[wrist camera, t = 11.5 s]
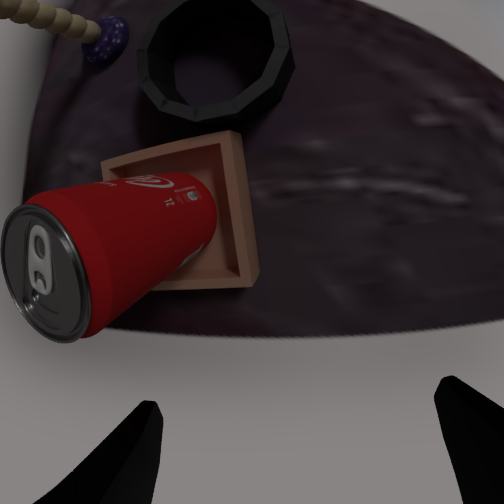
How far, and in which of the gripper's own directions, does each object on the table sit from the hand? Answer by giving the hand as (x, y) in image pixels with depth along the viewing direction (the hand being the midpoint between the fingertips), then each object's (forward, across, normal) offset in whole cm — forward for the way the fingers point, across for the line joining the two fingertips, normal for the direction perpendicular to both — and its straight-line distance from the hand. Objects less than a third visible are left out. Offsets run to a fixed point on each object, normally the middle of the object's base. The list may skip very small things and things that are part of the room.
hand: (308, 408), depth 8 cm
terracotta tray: (+14, +6, -2) cm, 15 cm away
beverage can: (+13, +6, -2) cm, 15 cm away
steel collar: (+14, +3, -12) cm, 19 cm away
